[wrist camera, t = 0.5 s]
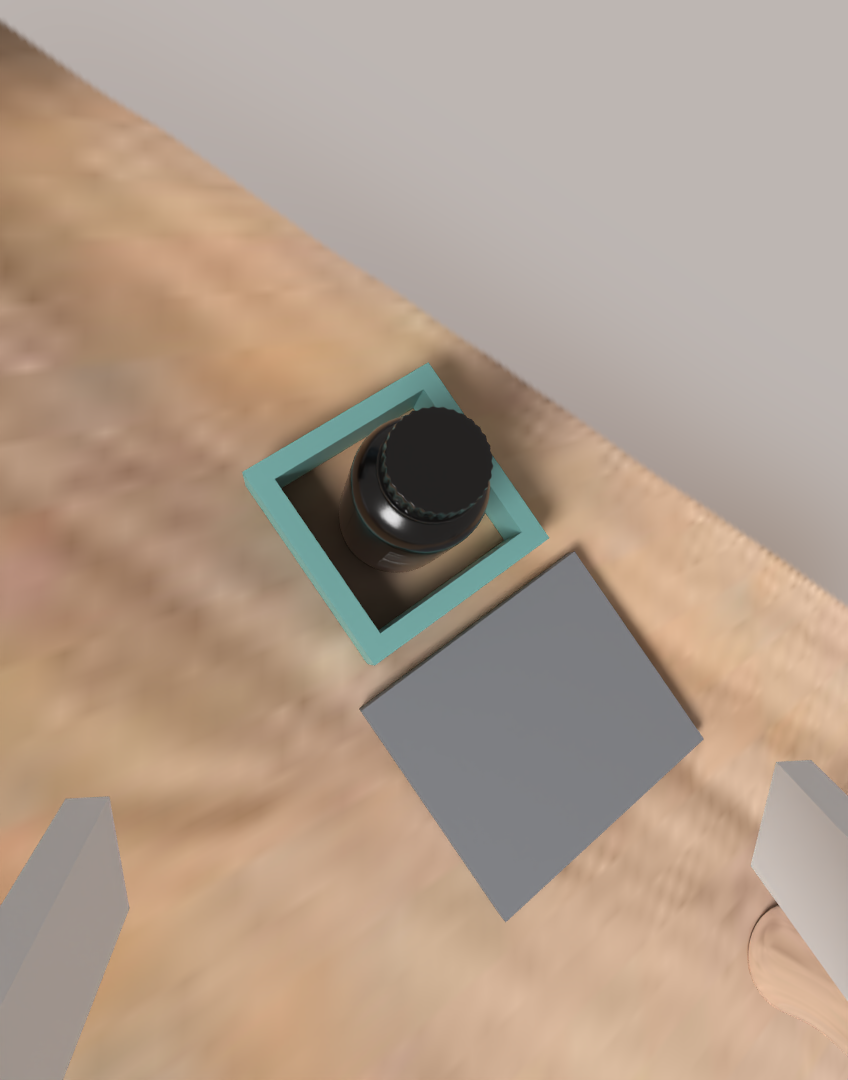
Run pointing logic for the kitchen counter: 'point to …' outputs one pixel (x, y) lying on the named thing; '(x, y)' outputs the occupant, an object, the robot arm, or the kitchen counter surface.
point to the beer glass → (796, 978)
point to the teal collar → (266, 489)
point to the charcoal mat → (533, 731)
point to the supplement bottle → (415, 489)
